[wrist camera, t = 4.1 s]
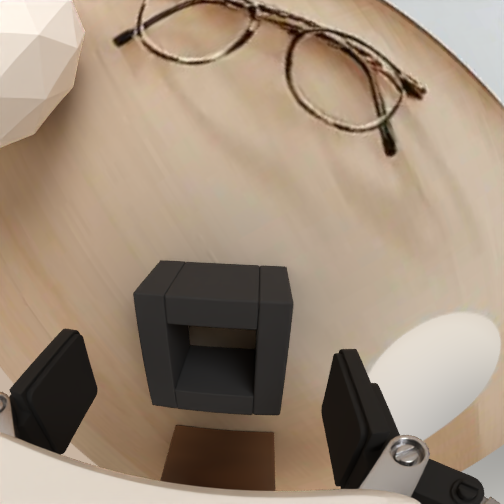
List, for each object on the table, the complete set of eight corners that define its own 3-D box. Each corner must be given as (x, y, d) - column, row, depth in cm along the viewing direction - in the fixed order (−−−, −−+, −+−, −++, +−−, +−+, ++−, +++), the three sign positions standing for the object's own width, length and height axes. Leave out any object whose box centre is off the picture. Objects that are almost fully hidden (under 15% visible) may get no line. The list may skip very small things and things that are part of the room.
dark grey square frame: (286, 265, 14) (293, 302, 10) (277, 367, 15) (279, 416, 12) (160, 259, 14) (132, 292, 10) (169, 360, 15) (152, 405, 12)
